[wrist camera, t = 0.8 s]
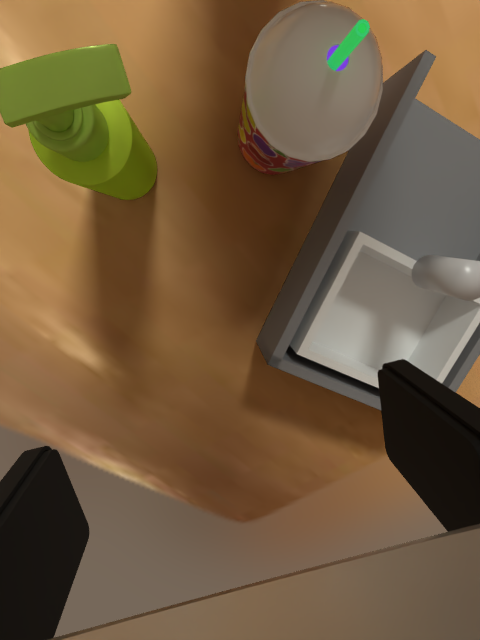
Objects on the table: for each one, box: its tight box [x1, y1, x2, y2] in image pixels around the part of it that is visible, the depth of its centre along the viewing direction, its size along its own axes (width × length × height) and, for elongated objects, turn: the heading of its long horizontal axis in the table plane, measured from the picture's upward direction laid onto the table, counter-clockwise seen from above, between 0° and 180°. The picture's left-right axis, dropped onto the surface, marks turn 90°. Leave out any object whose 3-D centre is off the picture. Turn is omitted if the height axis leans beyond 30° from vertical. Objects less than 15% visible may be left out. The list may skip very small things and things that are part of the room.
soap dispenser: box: [0, 44, 157, 200], centre depth 24 cm, size 6×7×20 cm
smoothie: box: [237, 0, 383, 175], centre depth 25 cm, size 8×8×20 cm
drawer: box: [290, 231, 480, 388], centre depth 33 cm, size 13×15×11 cm
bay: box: [256, 50, 480, 410], centre depth 35 cm, size 28×19×7 cm
